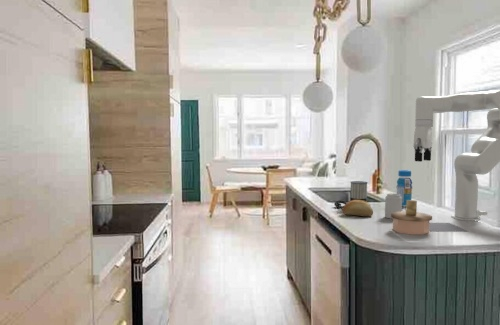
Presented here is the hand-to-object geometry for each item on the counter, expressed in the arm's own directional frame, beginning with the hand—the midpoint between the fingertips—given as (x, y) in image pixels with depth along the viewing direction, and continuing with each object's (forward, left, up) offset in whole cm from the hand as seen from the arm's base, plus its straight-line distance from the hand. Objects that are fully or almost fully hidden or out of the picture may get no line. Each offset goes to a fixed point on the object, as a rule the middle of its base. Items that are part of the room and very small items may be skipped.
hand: (422, 160), depth 194 cm
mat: (-2, +14, -28) cm, 32 cm away
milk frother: (+25, -34, -29) cm, 51 cm away
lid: (+13, +21, -22) cm, 33 cm away
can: (+11, -6, -28) cm, 31 cm away
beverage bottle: (-8, -43, -28) cm, 52 cm away
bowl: (+13, +21, -28) cm, 38 cm away
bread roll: (+26, -14, -29) cm, 41 cm away
